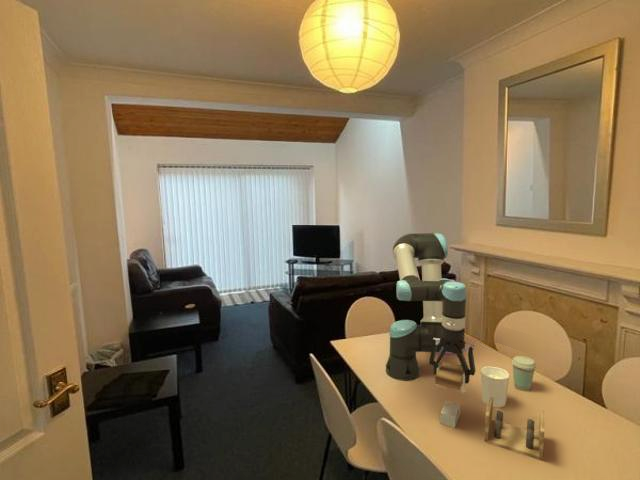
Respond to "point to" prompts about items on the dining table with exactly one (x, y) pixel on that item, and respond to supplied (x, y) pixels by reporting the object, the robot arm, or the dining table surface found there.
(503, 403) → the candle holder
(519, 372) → the coffee cup
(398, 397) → the dining table surface
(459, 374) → the board
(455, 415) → the block
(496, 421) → the peg frame
